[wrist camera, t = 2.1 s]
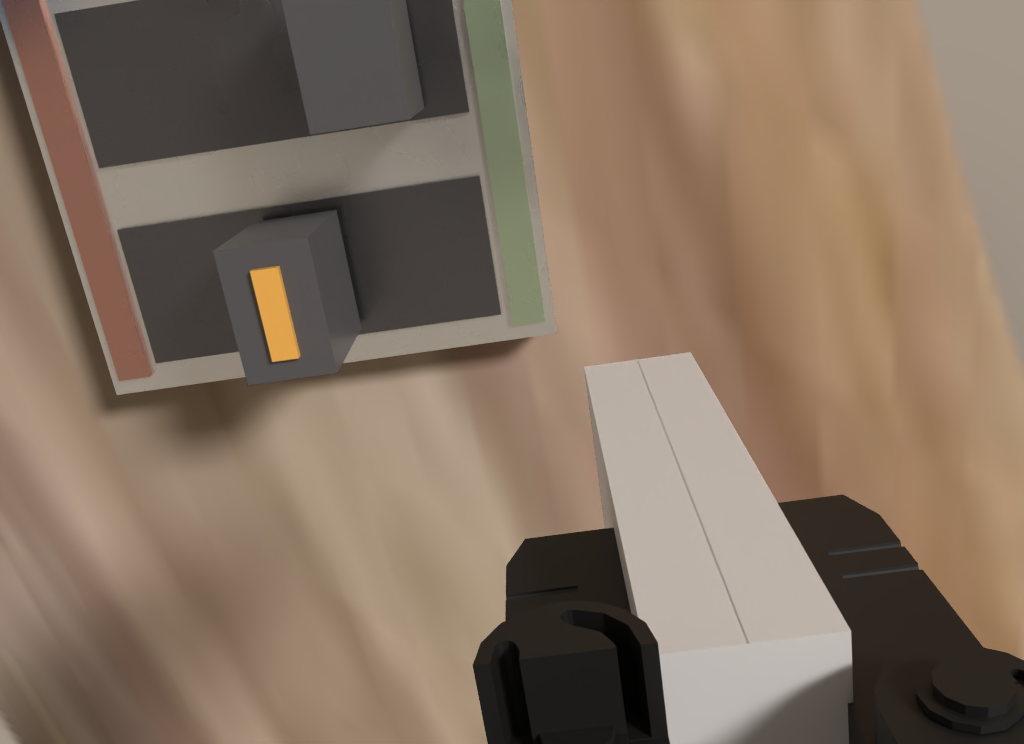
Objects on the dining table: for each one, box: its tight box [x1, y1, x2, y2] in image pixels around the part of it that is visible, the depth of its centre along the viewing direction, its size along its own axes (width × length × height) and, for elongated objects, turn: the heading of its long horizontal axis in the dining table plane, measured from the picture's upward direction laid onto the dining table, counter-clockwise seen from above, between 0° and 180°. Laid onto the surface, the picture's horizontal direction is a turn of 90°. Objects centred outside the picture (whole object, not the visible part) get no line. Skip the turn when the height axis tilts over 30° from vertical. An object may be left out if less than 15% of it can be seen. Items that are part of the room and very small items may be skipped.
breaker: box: [281, 0, 424, 135], centre depth 23 cm, size 4×2×4 cm, turn 8°
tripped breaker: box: [213, 210, 361, 385], centre depth 25 cm, size 4×2×4 cm, turn 8°
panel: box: [0, 0, 557, 395], centre depth 27 cm, size 18×14×2 cm
